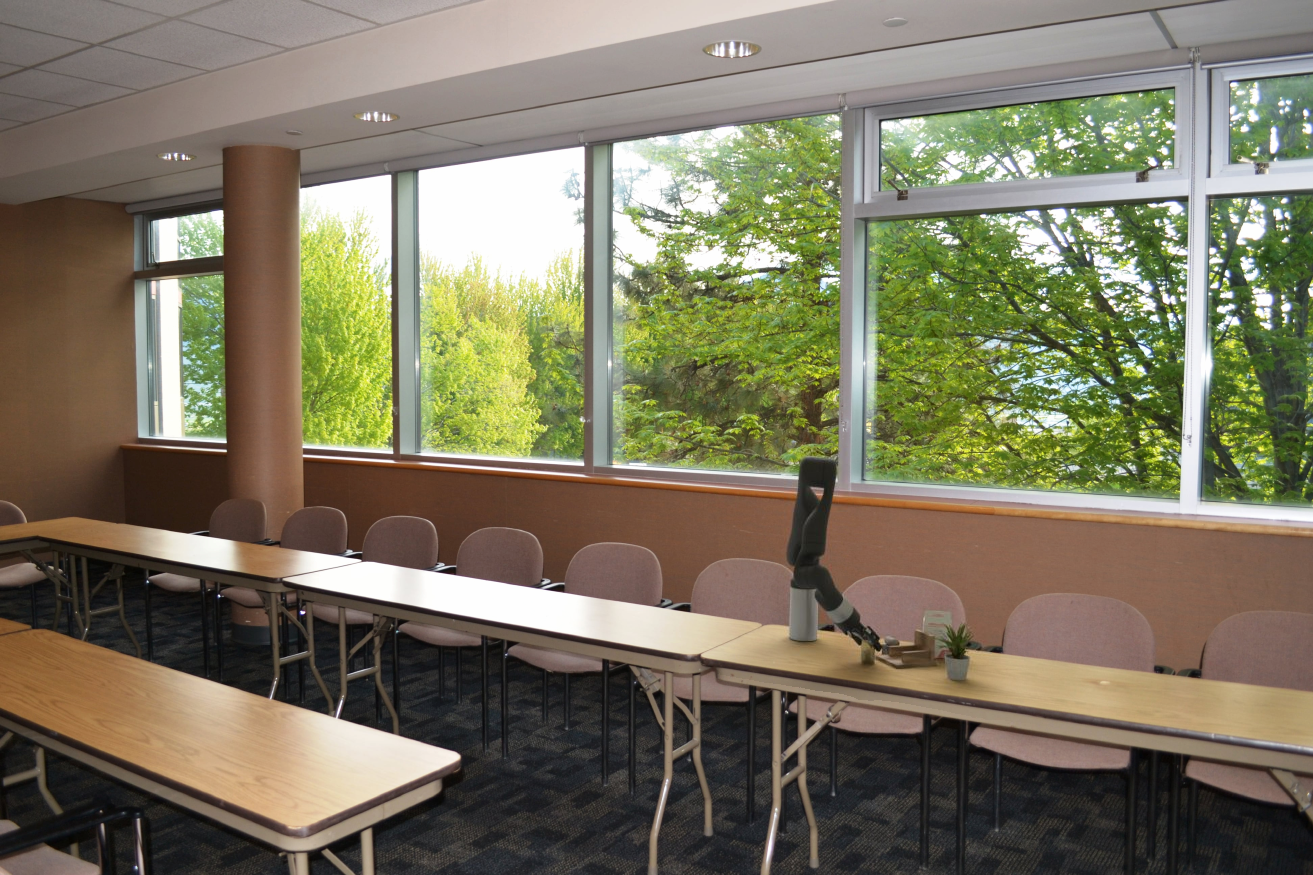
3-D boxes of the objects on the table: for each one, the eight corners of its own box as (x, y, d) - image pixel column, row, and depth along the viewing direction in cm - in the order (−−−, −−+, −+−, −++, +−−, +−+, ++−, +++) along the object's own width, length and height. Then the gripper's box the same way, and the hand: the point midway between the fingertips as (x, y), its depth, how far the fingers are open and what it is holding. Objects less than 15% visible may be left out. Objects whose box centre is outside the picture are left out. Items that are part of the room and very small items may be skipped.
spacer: (858, 661, 296) (859, 630, 296) (870, 660, 297) (870, 629, 297) (865, 664, 292) (866, 633, 292) (877, 664, 294) (877, 632, 293)
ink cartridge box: (950, 655, 305) (951, 608, 304) (951, 659, 300) (952, 612, 300) (922, 653, 307) (923, 607, 306) (922, 657, 302) (923, 610, 302)
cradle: (867, 654, 304) (868, 627, 304) (906, 651, 309) (907, 625, 309) (896, 668, 289) (897, 640, 288) (937, 665, 293) (937, 637, 293)
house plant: (936, 667, 291) (938, 613, 290) (984, 673, 284) (986, 618, 284) (925, 678, 278) (926, 622, 278) (975, 686, 272) (977, 628, 271)
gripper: (864, 607, 284) (893, 641, 290) (833, 598, 297) (862, 631, 303) (850, 626, 282) (879, 661, 288) (819, 616, 294) (848, 650, 300)
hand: (870, 646), depth 295 cm, fingers open, 8 cm apart
